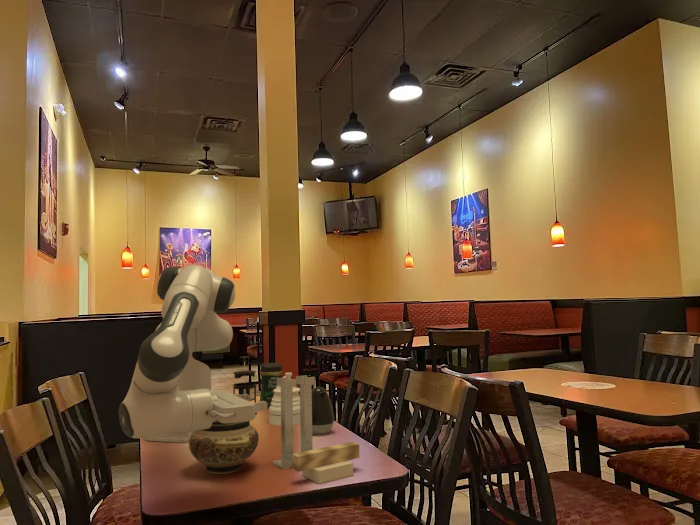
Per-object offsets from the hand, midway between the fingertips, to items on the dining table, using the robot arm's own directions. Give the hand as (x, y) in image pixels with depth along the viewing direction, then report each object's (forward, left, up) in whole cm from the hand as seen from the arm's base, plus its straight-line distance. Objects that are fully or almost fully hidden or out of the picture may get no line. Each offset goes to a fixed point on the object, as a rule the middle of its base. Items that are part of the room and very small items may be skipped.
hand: (257, 401), depth 122 cm
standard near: (+3, +20, -20) cm, 28 cm away
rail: (+15, +10, -17) cm, 25 cm away
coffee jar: (-22, +100, -21) cm, 104 cm away
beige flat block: (+15, +11, -20) cm, 27 cm away
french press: (-29, +84, -21) cm, 91 cm away
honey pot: (-9, +71, -21) cm, 75 cm away
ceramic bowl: (-13, +15, -21) cm, 29 cm away
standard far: (+7, +24, -20) cm, 32 cm away
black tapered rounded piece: (+6, +54, -21) cm, 58 cm away
